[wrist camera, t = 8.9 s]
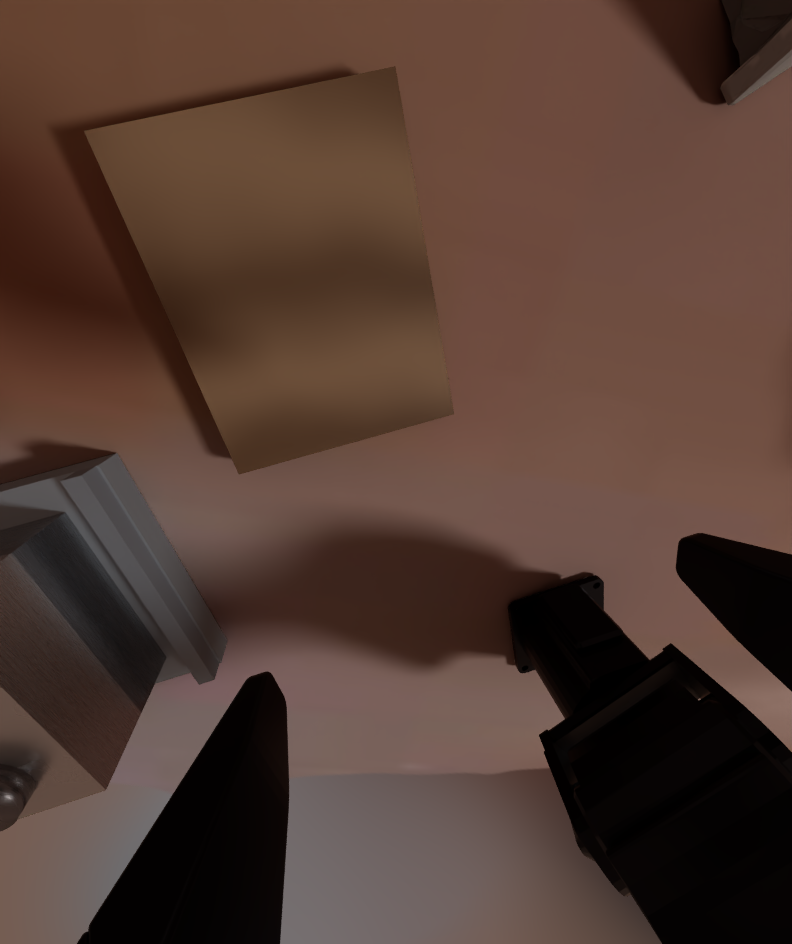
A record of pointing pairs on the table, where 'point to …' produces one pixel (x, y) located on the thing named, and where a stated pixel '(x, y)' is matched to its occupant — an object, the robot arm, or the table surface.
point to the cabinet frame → (126, 556)
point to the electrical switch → (758, 44)
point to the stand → (288, 261)
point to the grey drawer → (64, 669)
